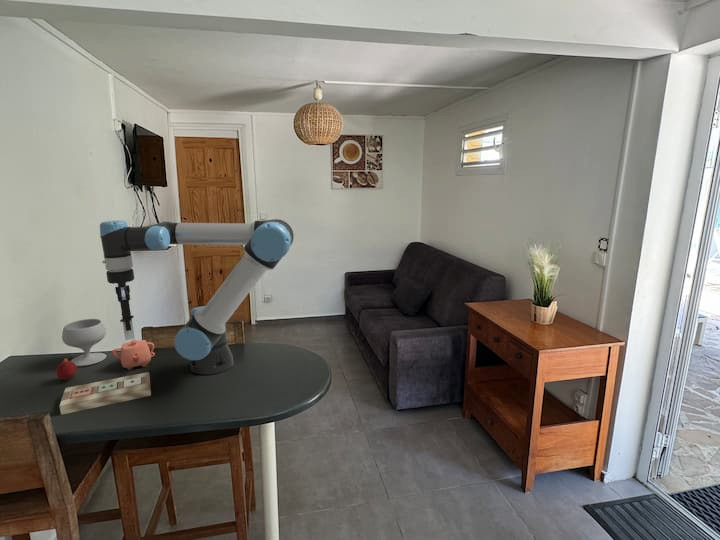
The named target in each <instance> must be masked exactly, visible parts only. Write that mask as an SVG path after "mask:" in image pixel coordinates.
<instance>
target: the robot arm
mask: <svg viewBox="0 0 720 540" xmlns="http://www.w3.org/2000/svg"><path fill="white" fill-rule="evenodd" d="M99 234H100V237H99V238H100V240H101V246H102V252H103V258H104V260H102V262H101V263H102V264H104V265H105V270H107V271H106V279H107V280H106V281H107V283H109V284H112V285H114V284H117V286H115V288H114V289H115V294H116V295H117V302H119V304H120V311H121V316H122V317H121V318H122V319H120V320H119V322H120V323H122V327H123V334H124V339H125V341H128V340H135V331H134V325H133V319H134V315H132V314H131V313H132V312H131V307H130V301H131V295H130V292H131V289H130V285H129V284H127V283H129V282H133V281H134V280H135V271H134V269H133V267H134V266H133V265H134V264H133V257H132V252H133V251H154V252H155V251H164V250H167V249H168V248H169V246H170V245H208V246H209V245H211V246H213V245H215V246H216V245H222V246H224V245H225V246H227V245H228V246H229V245H230V246H233V245H234V246H240V245H241V246H244V247H243V252H244V253H243V254H244V255H243V256H242V257H241V259H240V260H239V261H238V263H236V265H235V266H234V268H233V269H232V270H231V272H230V273H229V275H228V276H227V277H226V278H225V280H224V281H223V282H222V284H221V285H220V286H219V288H218V289H217V290H216V292H215V293H214V294H213V295H212V297H211V298H210V299H209V301H208V302H207V303H206V304H205V305H203V306H196V307H194V308H192V309H190V315H189V316H190V318H189V319H188V320H187V322H186V323H185V324H184V326H183V327H182V328H181V329H179V331H178V332H177V333H176V335H175V337H174V343H173V344H174V348H175V350H176V352H177V353H178V355H180V356H181V357H182V358H184V359H187V360H189V361H190V369H191V370H190V371H191V372H192V373H194V374H196V375H204V376H205V375H214V374H215V375H216V374H219V373H222V372H225V371H227V370H229V369H231V368H232V367H233V366H234V356H233V354H232V351H231V349H230V347H229V345H228V337H227V322H228V321H229V320H230V318H231V317H232V316H233V314H234V313H235V311H236V310H237V309H238V308H239V307H240V305H241V304H242V302H243V301H244V300H245V298H247V296H248V295H249V294H250V292H251V291H252V290H253V289H254V287H255V286H256V284H257V283H258V282H259V280H260V279H261V278H262V277H263V276H264V274H265V273H266V272H267V271H270V270H271V271H272V270H274V269H275V267H277V265H278V264H279V263H280V261H281V260H282V259H283V257H285V256H286V255H287V254H288V252H289V250H290V248H291V246H292V245H293V243H294V242H293V241H294V237H295V236H294V231H293V229H292V227H291V225H290V224H289V223H288V222H286V221H285V220H282V219H276V218H275V219H268V220H254V221H253V222H251V223H242V222H241V223H236V222H235V223H234V222H233V223H230V222H227V223H225V222H223V223H222V222H172V221H161V222H158V223H154V224H151V225H147V226H128V224H127V221H126V220H107V221H103V222H101V223H100V224H99Z"/></svg>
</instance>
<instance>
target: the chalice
mask: <svg viewBox="0 0 720 540" xmlns="http://www.w3.org/2000/svg"><path fill="white" fill-rule="evenodd" d="M106 335H107V331H106V327H105V325H104V323H103V321H102V320H101V319H97V318H86V319H85V318H83V319H79V320H75V321H72V322H68V323H67V324H65V325H64V327H63V330H62V332H61V339H62V342H63V344H65V345H67V346H68V347H72V348H78V349H81V350H82V351H83V352H84V354H82V355H79V356H76V357H73V359H71V360H70V361H71V362H73V363H74V364H75V365H76V366H77V367H85V366H90V365H95V364H98V363H100V362H102V361H104V360H105V359H106V358H107V354H106V353H104V352H91V349H92V348H93V346H95V345H97V344H98V343H99V342H101V341H102V340H103V339H104V338H105V336H106Z"/></svg>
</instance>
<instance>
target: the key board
mask: <svg viewBox="0 0 720 540" xmlns="http://www.w3.org/2000/svg"><path fill="white" fill-rule="evenodd" d="M139 377H141V382H142V384H141V385H136V386H131V387H127V388H124V380H128V379H134V378H139ZM113 382H117V385H118V389H117V390H112V391H107V392H102V393H98V389H99V385H103V384H108V383H113ZM88 387H92V390H93V391H92V395H87V396H82V397H77V398H72V399H71V396H72V393H73V390H77V389H82V388H88ZM151 389H152V387H151V378H150V372H149V371H148V372H141V373H138V374H132V375H126V376H122V377H117V378H111V379H105V380H102V381H101V380H100V381H95V382H90V383H85V384H80V385H74V386H69V387H65V389H64V391H63V395H62V397H61V400H60V404H59V411H60V415H61V416H62V415H66V414H71V413H77V412H81V411H86V410H89V409H90V410H91V409H95V408H99V407H105V406H108V405H113V404H118V403H123V402H127V401H131V400H136V399H140V398H141V399H142V398H145V397H150V396H152V391H151Z"/></svg>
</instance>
